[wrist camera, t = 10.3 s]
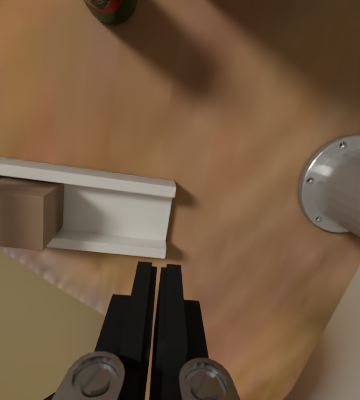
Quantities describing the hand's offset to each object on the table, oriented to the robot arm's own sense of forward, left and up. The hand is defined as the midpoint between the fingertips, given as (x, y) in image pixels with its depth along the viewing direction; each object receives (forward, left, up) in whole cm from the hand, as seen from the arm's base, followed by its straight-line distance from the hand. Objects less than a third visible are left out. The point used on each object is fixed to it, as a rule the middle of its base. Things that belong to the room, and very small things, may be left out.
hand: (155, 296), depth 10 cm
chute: (+8, +5, -23) cm, 25 cm away
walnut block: (+13, +5, -23) cm, 27 cm away
